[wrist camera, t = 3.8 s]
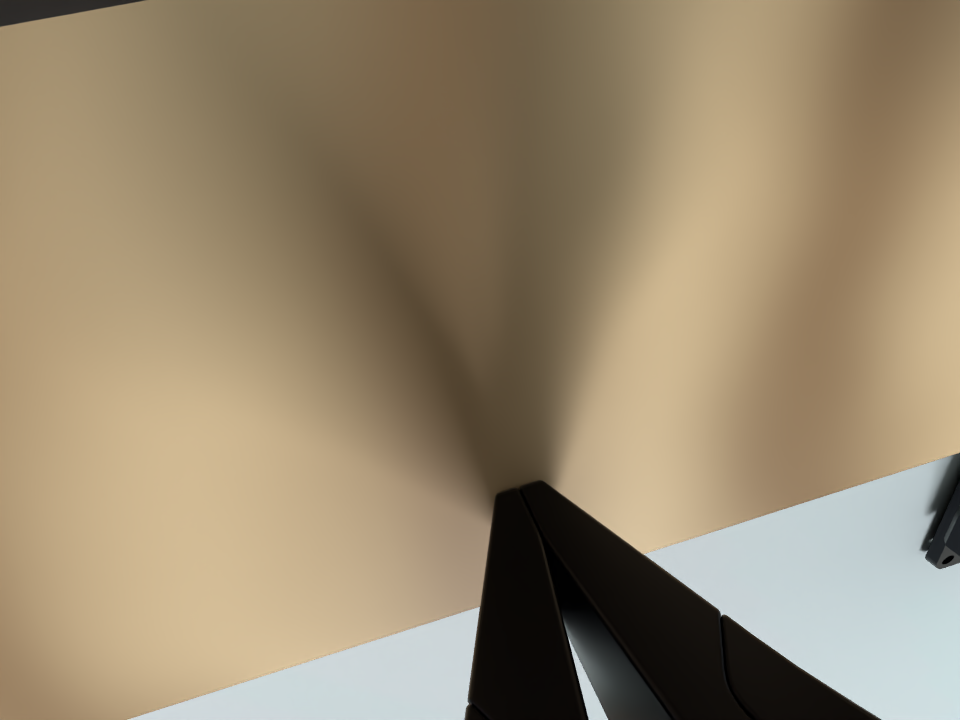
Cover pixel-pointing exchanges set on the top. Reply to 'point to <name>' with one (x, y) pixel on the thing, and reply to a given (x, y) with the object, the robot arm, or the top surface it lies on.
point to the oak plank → (440, 304)
